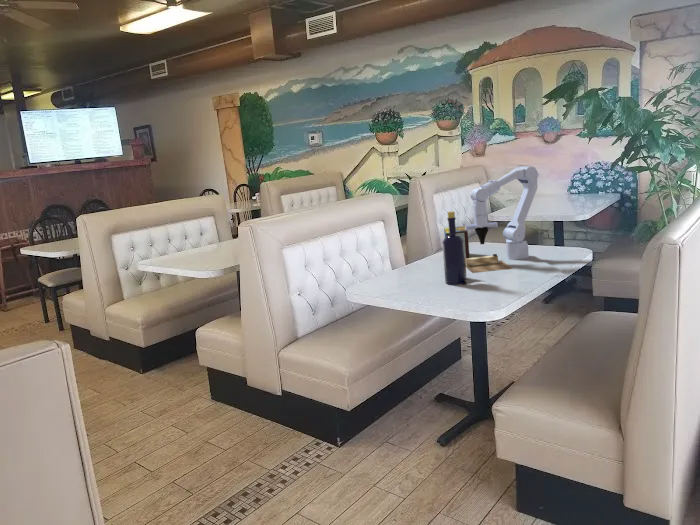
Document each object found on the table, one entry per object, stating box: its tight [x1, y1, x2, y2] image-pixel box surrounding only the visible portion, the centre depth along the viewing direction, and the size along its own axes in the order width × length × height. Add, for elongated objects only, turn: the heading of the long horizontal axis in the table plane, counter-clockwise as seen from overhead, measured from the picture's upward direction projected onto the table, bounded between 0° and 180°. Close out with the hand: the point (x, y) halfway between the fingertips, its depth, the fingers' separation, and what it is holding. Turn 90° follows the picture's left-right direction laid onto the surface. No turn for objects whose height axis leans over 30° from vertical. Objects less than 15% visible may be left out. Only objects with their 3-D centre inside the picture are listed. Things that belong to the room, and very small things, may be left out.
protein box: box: [443, 225, 471, 258], centre depth 278 cm, size 10×15×16 cm
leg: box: [465, 253, 499, 266], centre depth 258 cm, size 14×3×4 cm, turn 91°
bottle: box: [442, 210, 468, 286], centre depth 234 cm, size 9×9×30 cm
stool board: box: [466, 260, 514, 274], centre depth 254 cm, size 18×18×1 cm
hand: (482, 243), depth 258 cm, fingers closed
